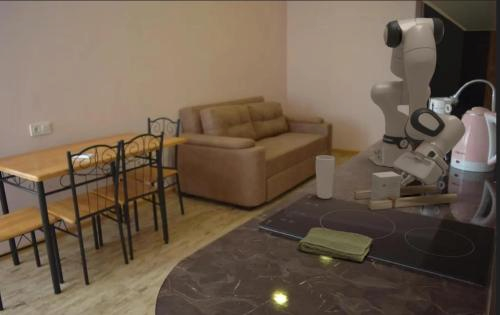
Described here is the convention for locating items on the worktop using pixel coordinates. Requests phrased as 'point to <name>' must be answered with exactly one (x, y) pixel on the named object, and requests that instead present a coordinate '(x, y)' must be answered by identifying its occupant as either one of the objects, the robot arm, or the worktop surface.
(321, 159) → the drinking glass
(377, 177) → the small box
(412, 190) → the wooden track
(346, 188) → the worktop surface
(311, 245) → the washcloth
